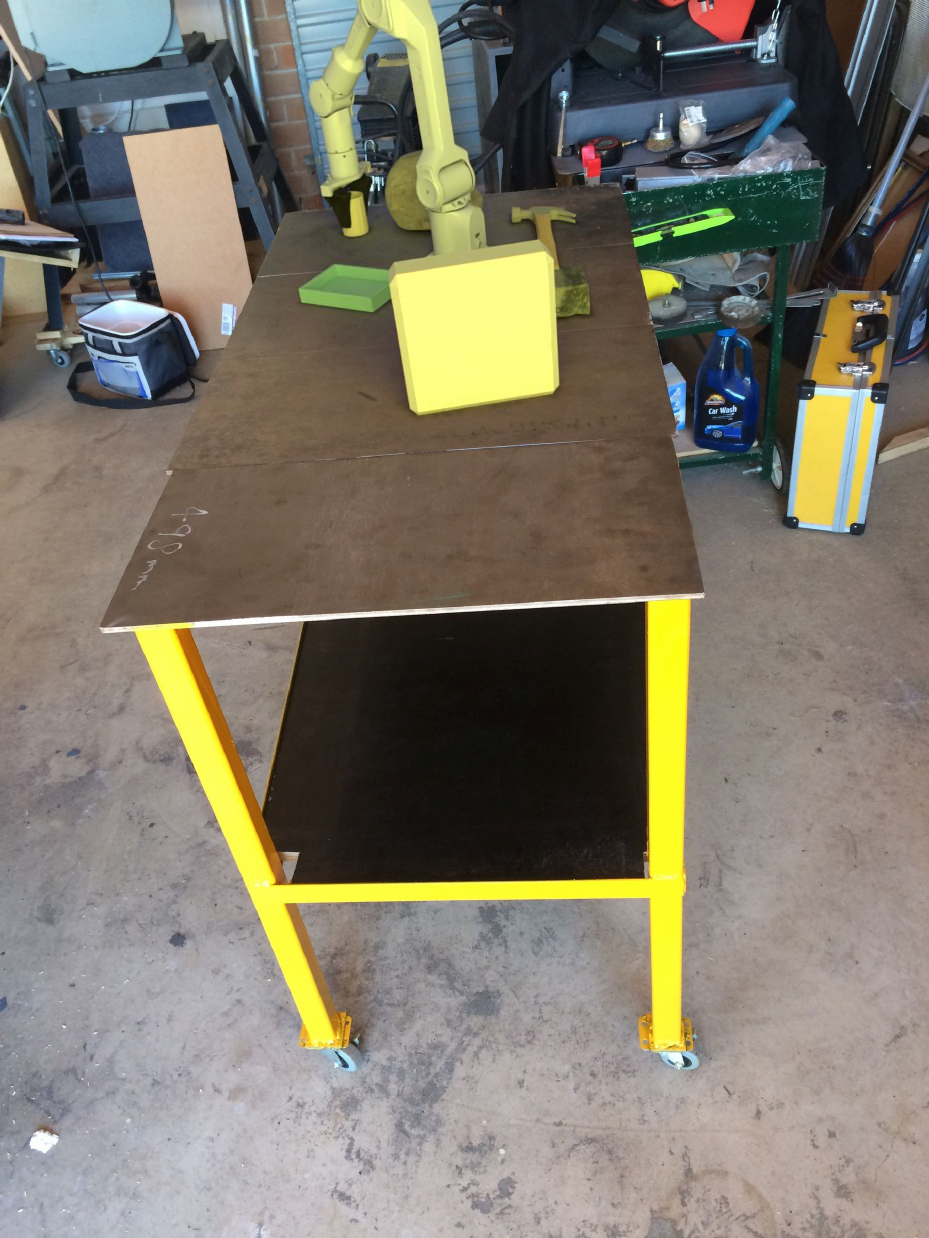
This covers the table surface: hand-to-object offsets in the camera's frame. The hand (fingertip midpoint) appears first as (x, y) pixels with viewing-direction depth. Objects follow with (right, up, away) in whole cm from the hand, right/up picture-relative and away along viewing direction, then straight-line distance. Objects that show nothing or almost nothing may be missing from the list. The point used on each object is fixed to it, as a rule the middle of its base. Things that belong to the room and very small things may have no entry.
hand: (354, 222), depth 186 cm
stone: (+17, -2, -2) cm, 17 cm away
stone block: (+35, -29, -35) cm, 57 cm away
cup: (0, -1, +1) cm, 2 cm away
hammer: (+37, -11, -15) cm, 41 cm away
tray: (+3, -22, -22) cm, 31 cm away
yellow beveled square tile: (+25, -48, -54) cm, 76 cm away
